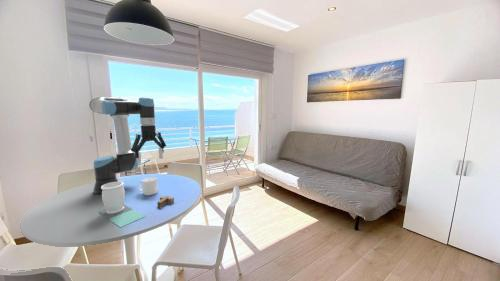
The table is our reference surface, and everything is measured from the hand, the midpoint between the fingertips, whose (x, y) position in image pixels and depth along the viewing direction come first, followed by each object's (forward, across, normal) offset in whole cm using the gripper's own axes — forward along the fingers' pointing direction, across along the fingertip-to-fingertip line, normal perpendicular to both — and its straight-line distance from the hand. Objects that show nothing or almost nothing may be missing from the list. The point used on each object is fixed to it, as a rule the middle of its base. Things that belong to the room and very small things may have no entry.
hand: (150, 160), depth 120 cm
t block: (+26, +1, -9) cm, 27 cm away
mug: (+26, +6, +15) cm, 31 cm away
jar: (+26, -18, +7) cm, 32 cm away
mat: (+26, -19, 0) cm, 32 cm away
